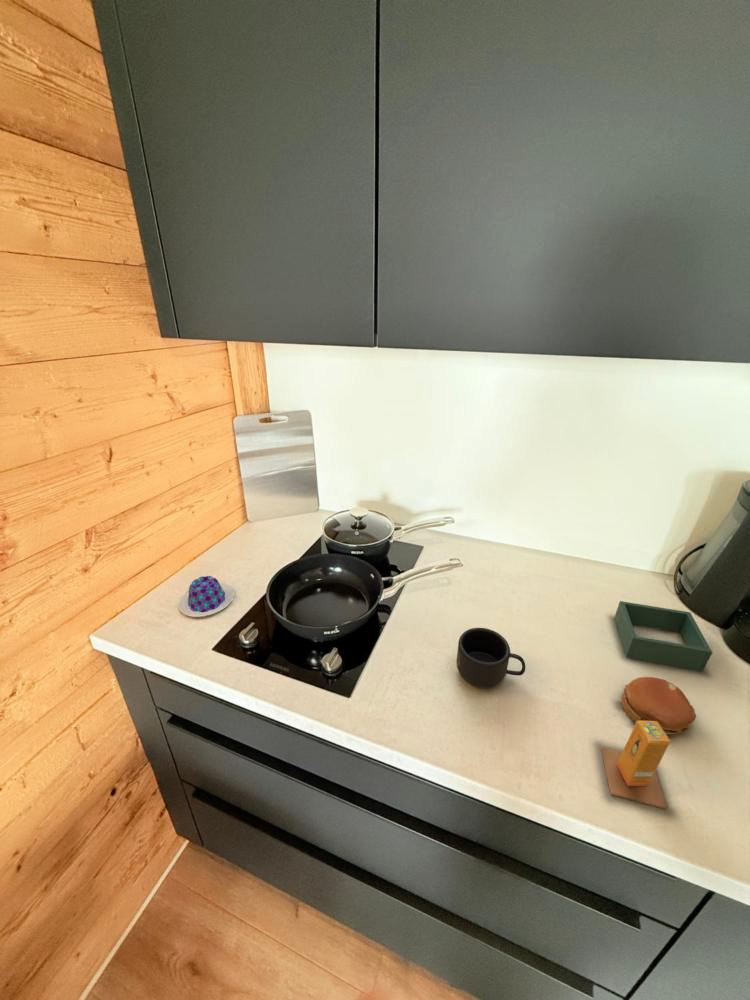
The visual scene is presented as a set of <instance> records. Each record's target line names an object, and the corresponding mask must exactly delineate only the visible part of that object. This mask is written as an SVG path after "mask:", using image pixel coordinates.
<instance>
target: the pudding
mask: <svg viewBox="0 0 750 1000" xmlns="http://www.w3.org/2000/svg"><path fill="white" fill-rule="evenodd" d="M234 597H235V591H234V588H233V587H232V586H230V585H229V584H227V583H226V582H225V583H224V582H220V581H219V580H218V579H217V578H216V577H213V576H211V575H206V576H204V575H202V576H199V577H198V578H195V579H193V580H192V582H191V583H190V585H189V586H188V591H186V592H184V594H183V595H182V596H181V597H180V599H179V601H178V609H179V611H180V612H181V613H182V614H184V616H185V615H186V616H189V617H194V618H195V617H196V618H199V617H201V618H202V617H207V616H210V615H213V614H216V613H218V612H221V611H222V610H224V609H225V608H226V607H227V606H229V605H230V603H231V602H232V601H233V599H234Z"/></svg>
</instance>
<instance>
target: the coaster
mask: <svg viewBox="0 0 750 1000" xmlns="http://www.w3.org/2000/svg"><path fill="white" fill-rule="evenodd" d="M600 750H601V754H602V759H603V765H604V768H605V774H606V780H607V785H608V790H609V794H610V796H614V797H618V798H622V799H626V800H629V801H633V802H637V803H640V804H644V805H647V806H652V807H656V808H660V809H663V810H667V809H668V806H667V804H666V799H665V797H664V793H663V791H662V786H661V783H660V780H659V776H658V773H657V770H656V771H655V773H654V775H653V777H652V779H651V781H650V783H649V785H648V786H628V785H627V784H626V782H625V780H624V778H623V776H622V774H621V772H620V770H619V768H618V766H617V762H618V760H619V758H620V756H621V754H622V752H623V751H620V750H616V749H613V748H608V747H604V746H601V748H600Z"/></svg>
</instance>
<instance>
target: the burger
mask: <svg viewBox="0 0 750 1000" xmlns="http://www.w3.org/2000/svg"><path fill="white" fill-rule="evenodd" d="M620 702H621V705H622V708H623V709H624V712H625V713H626V714H627V716H628V717H629V718H630V719H631V720H632V721H633V722H634V723H636V722H637V721H657V722H658V723H659V724H660V726H661V728H662V729H663V731H664V732H665V734H666V735H676V734H683V733H685V731H686V730H688V729H689V727H690V725H692V723H693V722H694V721H695V719H696V718H697V714H696V712H695V708H694V707H693V705H692V704H691V703H690V701H689V699H688V697H687V696H686V694H685V693H684V692H683V691H682V690H681V689H680V688H679V686H677V685H675V684H673V683H672V682H670V681H667V680H666V679H663V678H659V677H653V676H641V677H636V678H634V679H633V680H631V681H630V682H629V683H627V684H626V685H625V686H624V689H623V695H622V696H621V701H620Z"/></svg>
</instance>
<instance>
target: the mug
mask: <svg viewBox="0 0 750 1000" xmlns="http://www.w3.org/2000/svg"><path fill="white" fill-rule="evenodd" d="M510 658H511V659H515V660H518V661H520V664H521V670H511V669H508V667H509V661H510ZM455 662H456V663H455V664H456V668H457V671H458V673H459V675H460V677H461V678H462V679H463V680H464V681H465V682H466V683H468V684H469V685H471V686H473V687H475V688H480V689H492V688H495V687H497V686H499V684H501V683H502V682H503V680H504V679H505V678H506V675H510V676H517V677H518V676H522V675H524V674H525V672H526V662H525V660H524V658H523V657H522V656H521V655H519V654H516V653H513V652H511V647H510V644H509V643H508V641H507V640H506V638H505V637H504V636H503V635H501V634H500V633H499V632H497V631H495V630H492V629H490V628H486V627H472V628H468V629H467V630H465V631H463V633H461V635H460V636H459V639H458V644H457V651H456V661H455Z"/></svg>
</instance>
